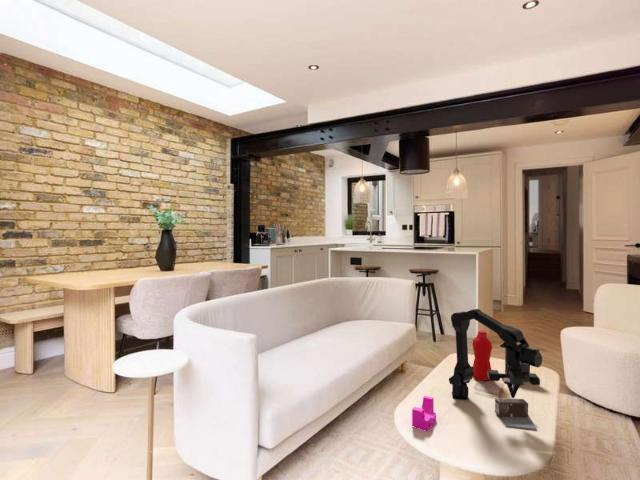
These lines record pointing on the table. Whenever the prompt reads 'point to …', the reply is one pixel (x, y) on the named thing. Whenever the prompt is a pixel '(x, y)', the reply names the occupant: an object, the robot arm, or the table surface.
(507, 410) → the box
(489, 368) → the water bottle
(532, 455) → the table surface
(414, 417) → the toy block
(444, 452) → the table surface
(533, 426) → the mat
